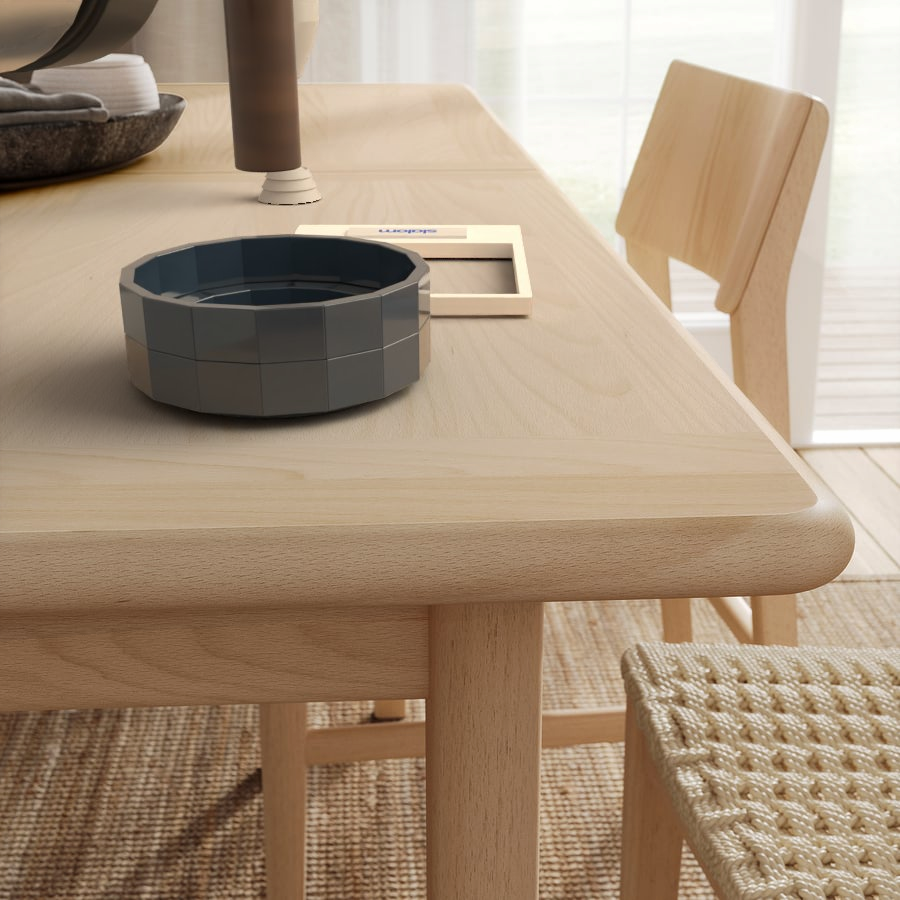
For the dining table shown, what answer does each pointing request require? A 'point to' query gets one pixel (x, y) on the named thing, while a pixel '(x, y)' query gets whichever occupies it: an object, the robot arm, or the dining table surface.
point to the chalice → (306, 18)
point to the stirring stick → (263, 84)
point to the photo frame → (453, 245)
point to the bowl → (276, 324)
